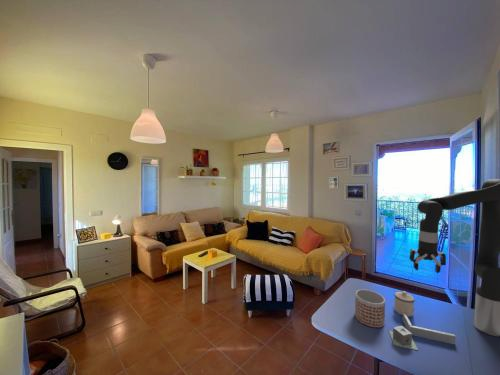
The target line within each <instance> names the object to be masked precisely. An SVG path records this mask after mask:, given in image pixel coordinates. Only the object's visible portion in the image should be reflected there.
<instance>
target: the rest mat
mask: <svg viewBox="0 0 500 375" xmlns="http://www.w3.org/2000/svg"><path fill="white" fill-rule="evenodd" d="M388 333H389V336H390V338H391V341H392V343H393V346H398V347H401V348H406V349H408V350H409V349H410V350H414V351H419V349H418V347H417V345H416V343H415V340H414V339H413V338H412V344H409V345H405V346H402V345H401V344H400V343H399V342H397V341H396V340H395V339H394V338H393V330H388Z"/></svg>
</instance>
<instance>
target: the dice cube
mask: <svg viewBox="0 0 500 375" xmlns="http://www.w3.org/2000/svg"><path fill="white" fill-rule="evenodd" d="M392 331H393V338H394V339H395V340H396V341H397V342H399V343H400V344H401V345H402V346H405V345H409V344H412V339H413V335H412V333H411V332H410V331H408V330H407V328H406V327H405V326H403V325H400V326H394V327H393V329H392Z"/></svg>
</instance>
